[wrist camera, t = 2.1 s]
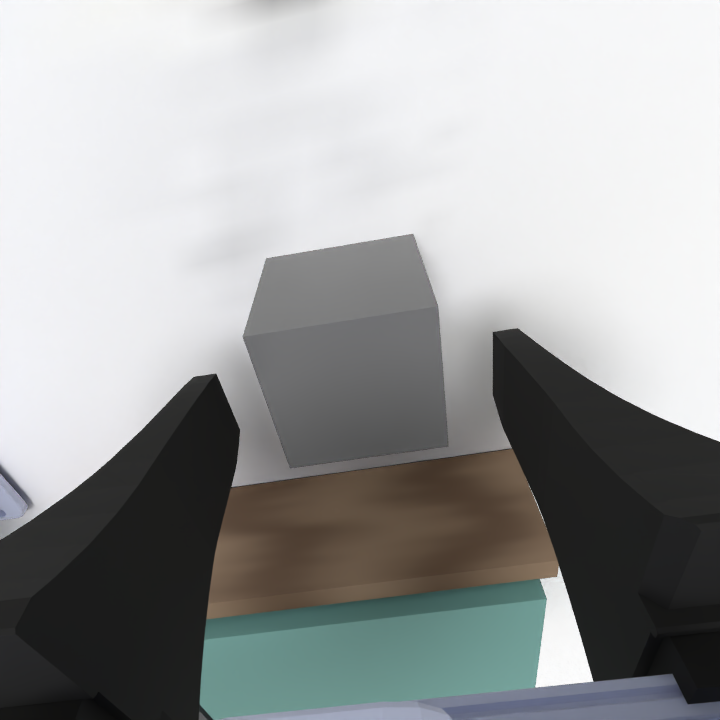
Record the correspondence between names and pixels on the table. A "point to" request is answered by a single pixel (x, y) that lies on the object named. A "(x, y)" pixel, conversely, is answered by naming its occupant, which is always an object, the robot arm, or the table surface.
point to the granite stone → (349, 352)
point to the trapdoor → (374, 651)
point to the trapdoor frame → (379, 535)
